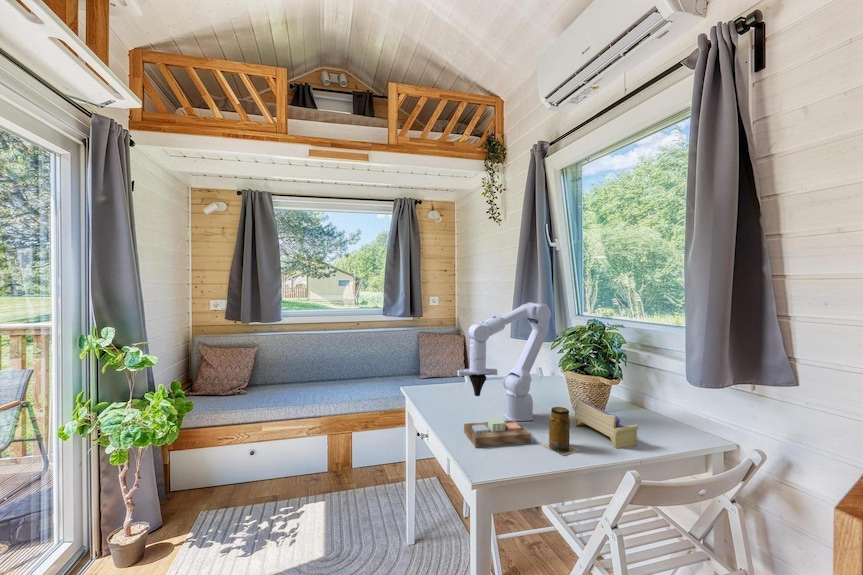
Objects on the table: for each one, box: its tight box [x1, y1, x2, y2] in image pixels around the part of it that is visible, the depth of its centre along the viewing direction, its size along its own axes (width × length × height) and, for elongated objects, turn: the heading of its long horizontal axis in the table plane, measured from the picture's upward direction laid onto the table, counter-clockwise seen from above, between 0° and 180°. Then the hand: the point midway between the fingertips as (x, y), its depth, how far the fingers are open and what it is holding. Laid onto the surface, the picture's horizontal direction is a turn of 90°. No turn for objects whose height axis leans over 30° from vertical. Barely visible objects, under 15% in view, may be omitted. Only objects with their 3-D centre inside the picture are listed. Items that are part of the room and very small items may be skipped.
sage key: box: [487, 417, 506, 432], centre depth 131 cm, size 4×4×3 cm
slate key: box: [472, 425, 489, 433], centre depth 130 cm, size 4×4×3 cm
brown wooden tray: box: [463, 420, 532, 449], centre depth 131 cm, size 18×12×3 cm, turn 102°
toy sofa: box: [573, 398, 639, 449], centre depth 134 cm, size 21×9×10 cm, turn 19°
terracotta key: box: [505, 423, 521, 431], centre depth 132 cm, size 4×4×3 cm
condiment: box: [543, 406, 581, 456], centre depth 124 cm, size 7×8×12 cm
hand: (477, 395), depth 144 cm, fingers closed
